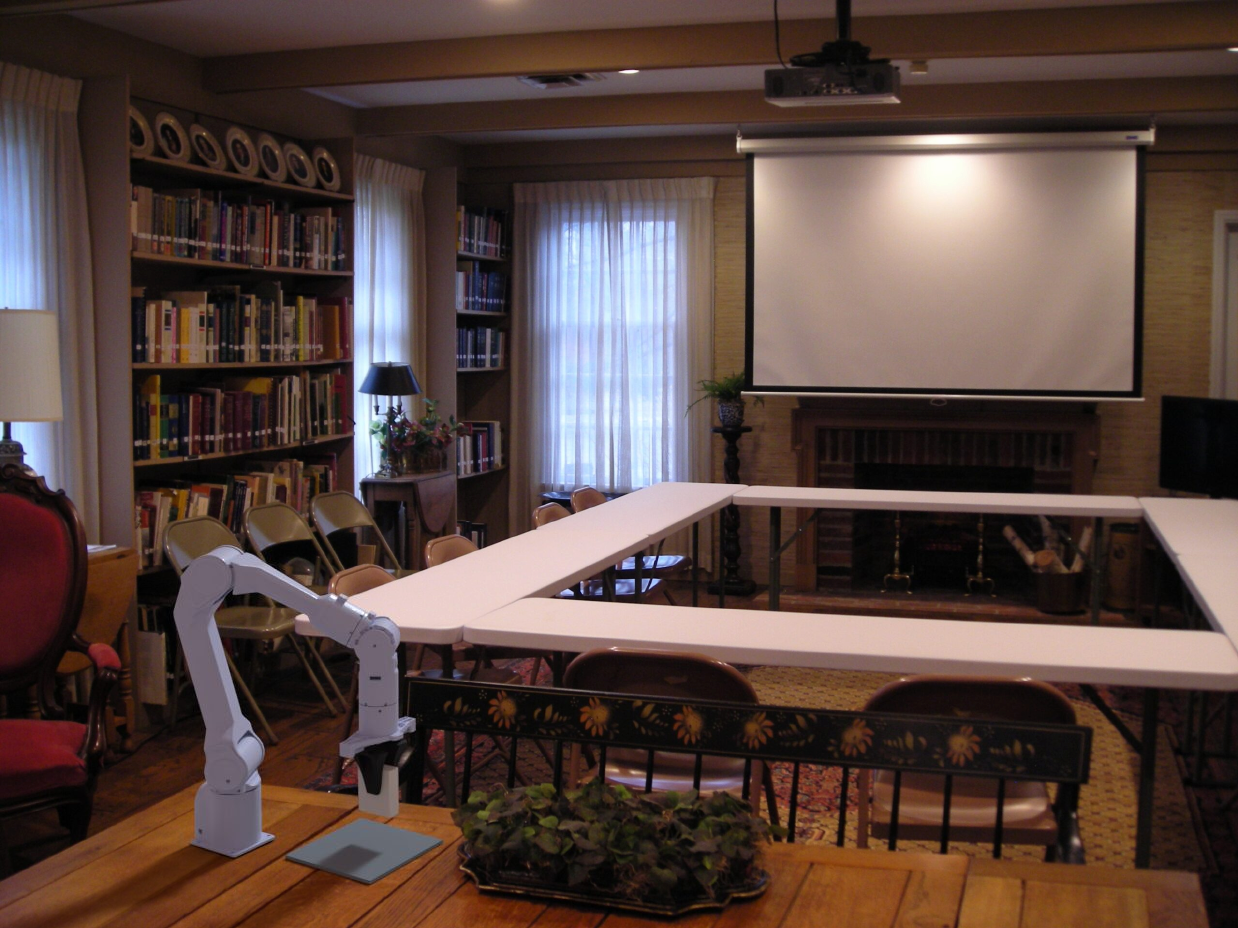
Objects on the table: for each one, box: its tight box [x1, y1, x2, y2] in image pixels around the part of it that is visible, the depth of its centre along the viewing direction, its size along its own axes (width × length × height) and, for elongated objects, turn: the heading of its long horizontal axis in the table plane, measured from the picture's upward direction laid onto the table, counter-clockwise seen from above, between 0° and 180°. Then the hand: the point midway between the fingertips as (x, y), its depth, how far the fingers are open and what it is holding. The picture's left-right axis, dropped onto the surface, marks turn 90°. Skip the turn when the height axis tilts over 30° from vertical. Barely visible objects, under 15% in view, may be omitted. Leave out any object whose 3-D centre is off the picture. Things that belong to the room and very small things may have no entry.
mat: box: [285, 817, 444, 885], centre depth 171 cm, size 16×16×1 cm
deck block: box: [357, 765, 400, 819], centre depth 172 cm, size 6×2×7 cm, turn 60°
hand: (379, 790), depth 172 cm, fingers closed on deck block, 2 cm apart
